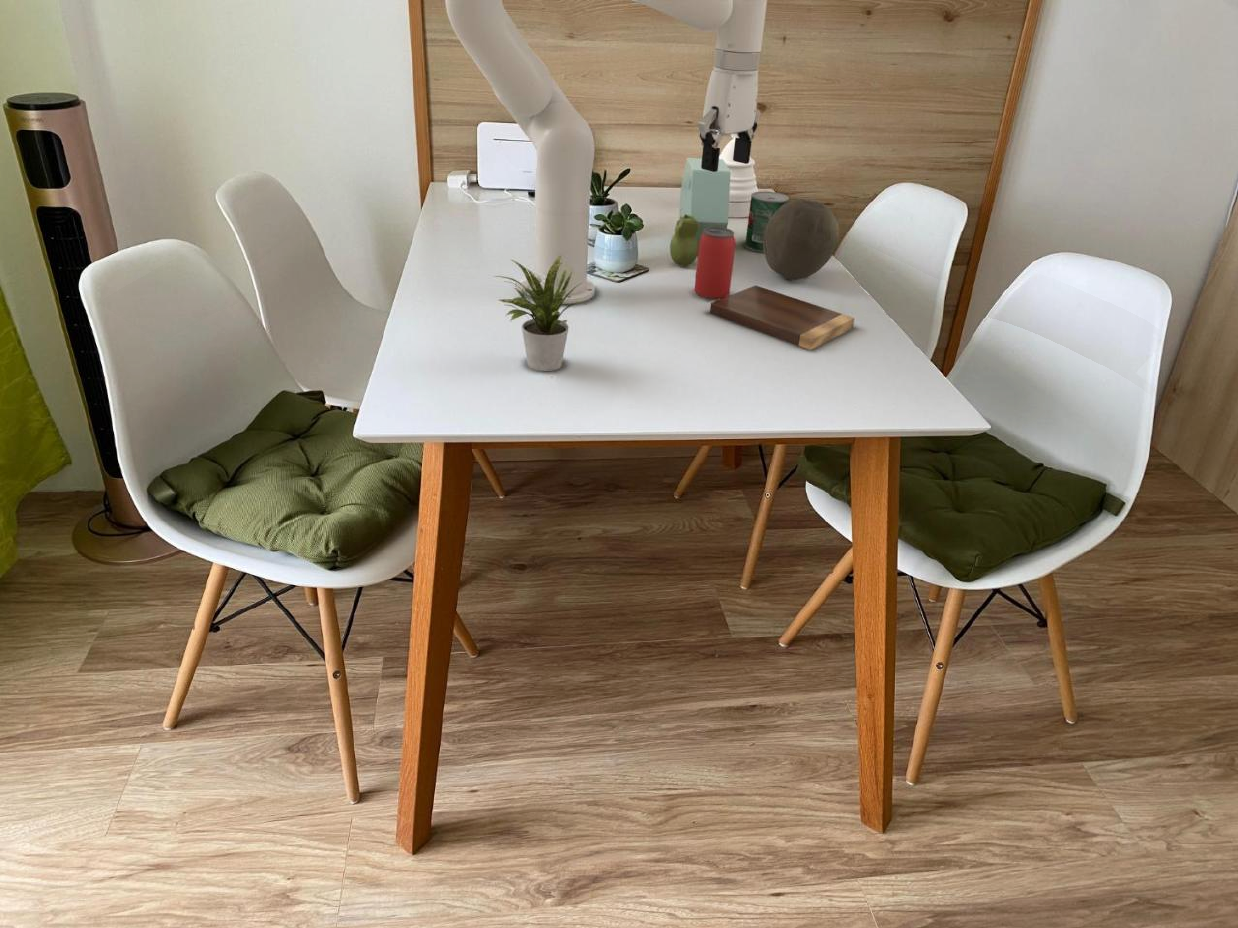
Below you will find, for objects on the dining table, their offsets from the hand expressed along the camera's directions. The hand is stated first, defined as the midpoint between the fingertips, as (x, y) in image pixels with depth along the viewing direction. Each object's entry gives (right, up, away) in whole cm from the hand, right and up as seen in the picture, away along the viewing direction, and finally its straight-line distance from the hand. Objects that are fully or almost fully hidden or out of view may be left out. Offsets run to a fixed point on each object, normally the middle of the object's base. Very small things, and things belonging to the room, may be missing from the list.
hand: (725, 166), depth 161 cm
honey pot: (+8, +9, +59) cm, 61 cm away
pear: (-6, -13, +23) cm, 27 cm away
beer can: (-2, -21, +9) cm, 23 cm away
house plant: (-31, -37, -20) cm, 52 cm away
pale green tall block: (-2, -7, +33) cm, 34 cm away
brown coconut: (+16, -16, +20) cm, 30 cm away
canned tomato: (+12, -6, +36) cm, 38 cm away
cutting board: (+10, -28, 0) cm, 29 cm away
